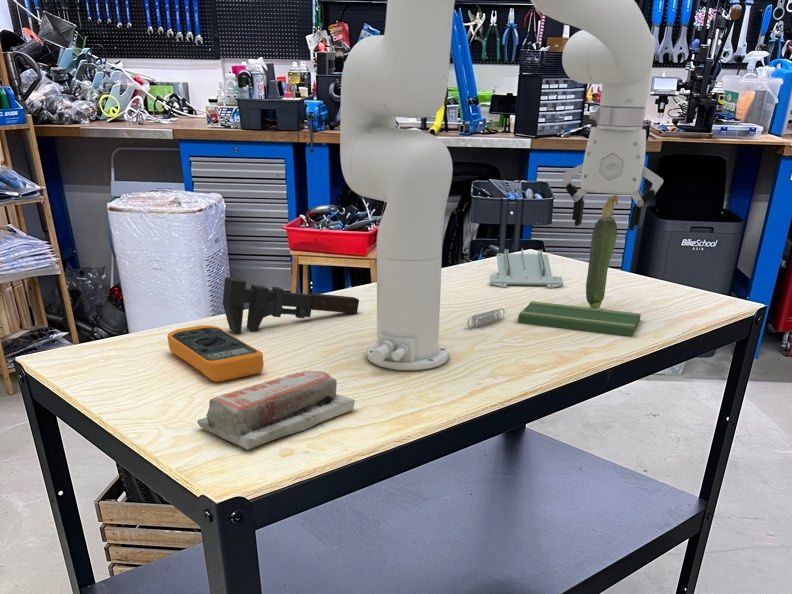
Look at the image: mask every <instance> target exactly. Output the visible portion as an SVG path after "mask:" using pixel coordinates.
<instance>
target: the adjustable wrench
mask: <svg viewBox="0 0 792 594" xmlns="http://www.w3.org/2000/svg"><path fill="white" fill-rule="evenodd" d="M222 295H223V297H222V307H223V310H224V315H225V316H226V317H225V318H226V320H227V324H228V328H229V330H231V331H232V332H233V333H235V334H242V329H243V328H242V327H243V318H244V317H243V315H244V310H245V309H244V308H245V304H248V310H247V320H246V328H247V329H249V330H250V331H252V332H258V329H259V328H260V326H261V324H262V322H263V320H264V318H267V317H269V316H271V317H273V318H281V316H282V315H290V316H295V318H297V319H305V318H311V315H312V311H318V312H319V311H321V312H330V313H331V312H333V313H342V314H343V313H345V314H355V315H357V314H358V310H359V303H360V299H359V298H357V297H354V296H348V295H347V296H346V295H335V294H325V293H315V292H309V293H299V292H287V291H285V289H284V288H282V287H279V286H272V288H271V290H270V288H268V287H266V286H264V285H259V284H251V285H250V288H247V281H246V280H243V279H241V278H238V277H228V276H225V277H224V284H223V294H222ZM284 307H291V308H284Z"/></svg>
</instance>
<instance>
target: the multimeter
mask: <svg viewBox="0 0 792 594" xmlns="http://www.w3.org/2000/svg"><path fill="white" fill-rule="evenodd" d="M167 342H168V343H167V344H168V348H169V350H170V352H171V353H172V354H174V355H175V356H177V357H179V358H180V359H182V361H185V362H186V363H188V364H190V366H192V367H194V368H195V369H196V370H198V371H199V372H201V373H202V374H203V375H204V376H205V377H207V378H208V379H209V380H210V381H213V382H216V383H220V382H226V381H229V380H234V379H239V378H243V377H248V376H252V375H253V376H254V375H257V374H260V373H262V371H263V370H264V354H263V352H262V351H260V350H259V349H257V348H254V347H253V346H251V345H249V344H247V343H246V342H245V341H243V340H241V339H239V338H237V337H235V336H234V335H232V334H231V333H229V332H227V331H225V330H224V329H223V328H221V327H219V326H216V325H208V324H207V325H205V324H204V325H201V324H200V325H194V326H189V327H183V328H178V329H175V330H172V331H170V332H168V333H167Z"/></svg>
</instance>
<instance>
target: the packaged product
mask: <svg viewBox="0 0 792 594" xmlns="http://www.w3.org/2000/svg"><path fill="white" fill-rule="evenodd" d="M337 385H338V382H337V379H336V378H334V377H333V376H331V375H330V374H329V373H328V372H326V371H322V370H321V371H320V370H319V371H314V370H313V371H312V370H303V371H298V372H295V373H291V374H286V375H285V376H281V377H277V378H274V379H271V380H267V381H264V382H260V383H256V384H254V385H250V386H247V387H243V388H241V389H237V390H234V391H231V392H226V393H223V394H220V395H217V396H214V397H212V398H210V399H209V405H208V409H207V413H206V415H205V416H206V417H203V418H200V419H198V420H197V425H198V426H199V427H200V428H201V429H203V430H205V431H207V432H210V433H212V434H214V435H215V436H218V437H219V438H221V439H223V440H226V441H228V442H230V443H232V444H234V445H237V446H238V447H240V448H243V449H244V450H247V451H249V450H251V449H253V448H256V447H258V446H261V445H264V444H266V443H270V442H272V441H274V440H277V439H280V438H283V437H286V436H289V435H292V434H296V433H299V432H302V431H306V430H308V429H310V428H312V427H314V426H315V425H317V424H319V423H321V422H324V421H327V420H330V419H332V418H335V417H338V416H340V415H341V416H342V415H343V414H346V413H349V412H351V411H353V410H354V406H355V401H356V400H355V399H353V398H351V397H347V396H344V395H342V394H337Z"/></svg>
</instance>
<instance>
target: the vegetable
mask: <svg viewBox="0 0 792 594" xmlns="http://www.w3.org/2000/svg"><path fill="white" fill-rule="evenodd" d="M618 202H619V201H618V195H617V194H615V195H612V196H611V197H609V198H607V201H605V203H604V205H603V207H602V210H601V217H600V218H599V219H598V220H597V221H596V222H595V224H594V227H593V230H592V235H591V241H590V249H589V258H588V259H589V261H588V268H587V274H586V275H587V276H586V280H585V281H586V283H585V298H586V301H587V303H588V305H589V308H595V309H600V308H601V306H602V302H603V301H604V298H605V294H606V285H607V275H608V270H609V265H610V261H611V258H612V256H613V253H614V249H615V246H616V242H617V237H618V225H617V223H616V220H615V219H614V218H613V217H614V210H615V209H614V208H615V205H618Z"/></svg>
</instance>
